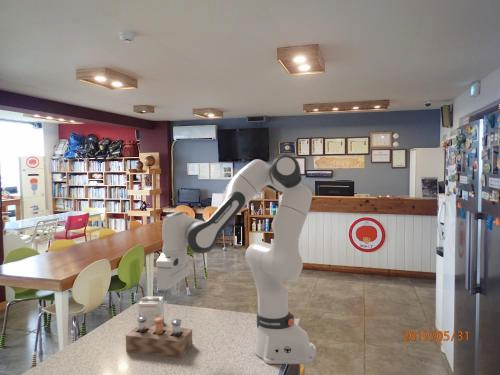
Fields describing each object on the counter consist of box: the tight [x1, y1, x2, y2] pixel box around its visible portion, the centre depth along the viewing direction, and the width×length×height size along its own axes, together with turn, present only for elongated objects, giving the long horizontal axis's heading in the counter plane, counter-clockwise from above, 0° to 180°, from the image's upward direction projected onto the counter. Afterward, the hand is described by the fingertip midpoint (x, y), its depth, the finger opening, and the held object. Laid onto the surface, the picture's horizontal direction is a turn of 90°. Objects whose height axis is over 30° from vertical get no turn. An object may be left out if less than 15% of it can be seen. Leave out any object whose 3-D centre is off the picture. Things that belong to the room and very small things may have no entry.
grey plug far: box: [136, 316, 147, 333], centre depth 138 cm, size 4×4×6 cm
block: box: [125, 324, 193, 359], centre depth 136 cm, size 22×10×6 cm, turn 76°
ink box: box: [137, 296, 165, 325], centre depth 154 cm, size 9×8×13 cm
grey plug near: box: [170, 318, 182, 337], centre depth 134 cm, size 4×4×6 cm
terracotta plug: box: [154, 317, 165, 335], centre depth 136 cm, size 4×4×6 cm
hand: (175, 293), depth 133 cm, fingers closed
